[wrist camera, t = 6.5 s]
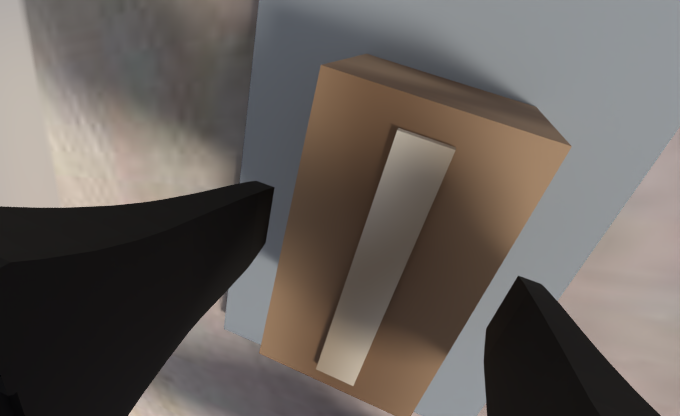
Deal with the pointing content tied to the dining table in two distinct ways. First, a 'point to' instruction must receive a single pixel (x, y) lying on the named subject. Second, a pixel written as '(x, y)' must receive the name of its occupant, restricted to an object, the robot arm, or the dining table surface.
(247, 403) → the dining table surface
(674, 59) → the rubber mat
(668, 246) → the dining table surface
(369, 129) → the taped cardboard box
